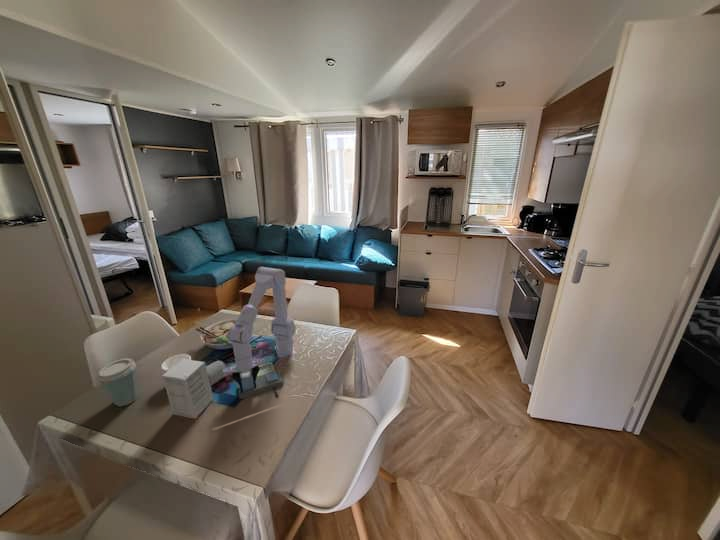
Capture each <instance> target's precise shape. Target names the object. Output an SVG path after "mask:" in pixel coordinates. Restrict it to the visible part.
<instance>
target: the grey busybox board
mask: <svg viewBox="0 0 720 540" xmlns="http://www.w3.org/2000/svg"><path fill="white" fill-rule="evenodd" d="M255 383H256V384H255V387H256V388H255V387H254V389H252V390H249V391H246V392H243V391H241V390H242V389H241V388H240V385H239V384H238V382H237V390H238V396H239V400H242V399H244V398H247V397H250V396H254V395H257V394H259V393H262V392H266V391H269V390H271V389H273V392H274V396H275V398H276V399H277V398H279V394H278V389H277V388H278V387H280V386H283V385H284V380H283V377H282V374H281V372H280V370H279V369H278V370H275V371H274V372H271V373H267V374H264V375H261V376H258V377H256V382H255Z"/></svg>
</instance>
